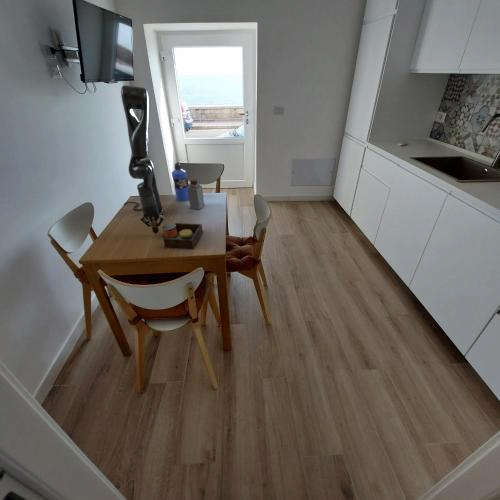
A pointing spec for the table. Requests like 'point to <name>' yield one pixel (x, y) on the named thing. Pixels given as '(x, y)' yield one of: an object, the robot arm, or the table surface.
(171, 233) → the tin can
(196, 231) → the dark brown tray
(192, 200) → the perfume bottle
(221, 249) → the table surface
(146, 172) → the robot arm
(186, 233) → the tea tin
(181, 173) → the water bottle
